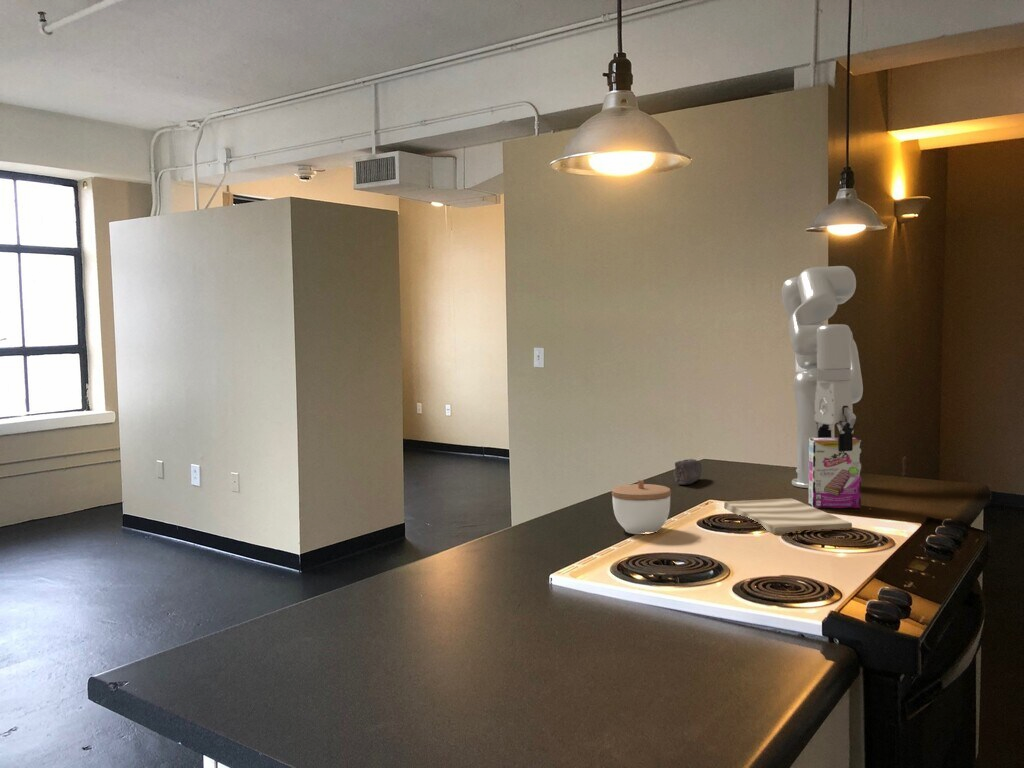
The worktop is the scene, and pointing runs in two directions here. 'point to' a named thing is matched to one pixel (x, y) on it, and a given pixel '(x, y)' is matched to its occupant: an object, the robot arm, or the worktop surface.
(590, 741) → the worktop surface
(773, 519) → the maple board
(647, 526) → the lidded bowl
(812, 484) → the candy bar box
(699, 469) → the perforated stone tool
